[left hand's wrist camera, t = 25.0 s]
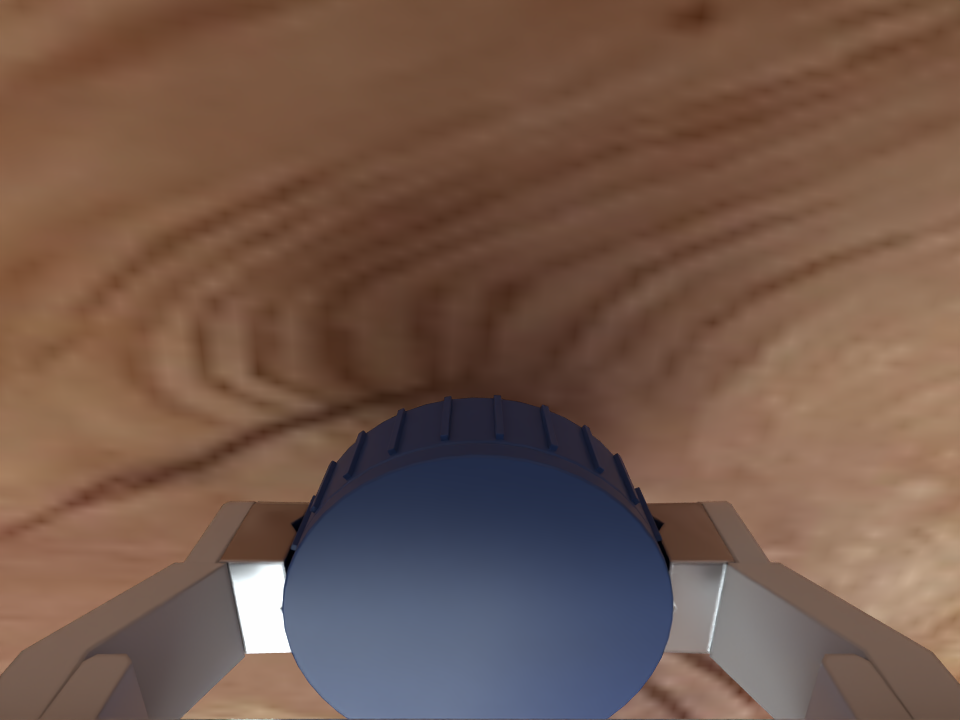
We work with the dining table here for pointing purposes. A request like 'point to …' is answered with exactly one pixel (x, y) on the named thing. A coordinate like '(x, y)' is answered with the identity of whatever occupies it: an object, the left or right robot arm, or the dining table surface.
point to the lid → (477, 571)
